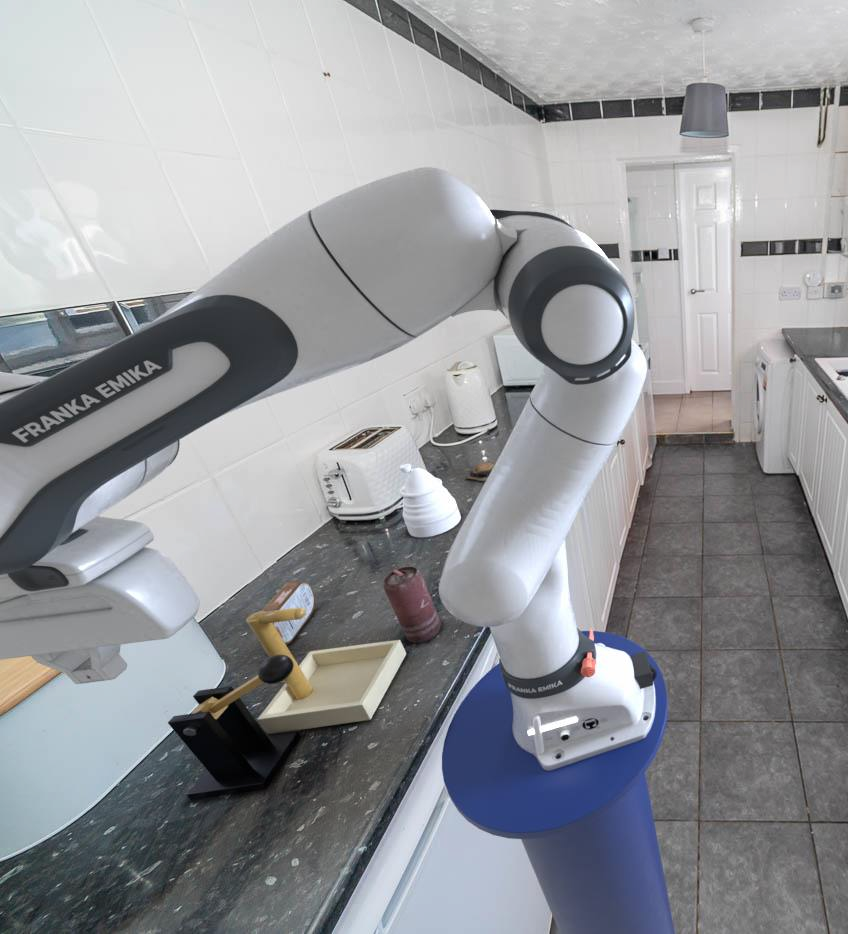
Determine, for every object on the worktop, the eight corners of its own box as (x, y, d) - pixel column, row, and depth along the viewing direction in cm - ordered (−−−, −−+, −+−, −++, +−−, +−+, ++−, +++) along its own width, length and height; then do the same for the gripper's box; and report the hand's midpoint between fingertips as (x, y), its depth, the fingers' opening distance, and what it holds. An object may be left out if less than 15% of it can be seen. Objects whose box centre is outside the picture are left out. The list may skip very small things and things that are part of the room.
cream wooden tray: (406, 653, 90) (400, 639, 88) (370, 719, 77) (362, 704, 76) (318, 665, 88) (309, 651, 87) (267, 734, 76) (256, 719, 75)
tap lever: (305, 659, 67) (282, 644, 65) (289, 681, 63) (264, 666, 62) (222, 712, 69) (198, 698, 67) (202, 735, 66) (176, 722, 64)
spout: (351, 684, 84) (306, 603, 76) (344, 696, 82) (297, 613, 74) (302, 691, 83) (252, 609, 75) (293, 703, 81) (240, 620, 73)
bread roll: (484, 483, 151) (481, 472, 150) (465, 479, 154) (462, 468, 153) (509, 468, 160) (506, 458, 158) (490, 464, 163) (487, 454, 161)
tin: (307, 604, 104) (290, 573, 100) (324, 601, 104) (307, 570, 101) (267, 658, 91) (245, 625, 87) (285, 655, 91) (265, 621, 87)
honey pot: (405, 542, 123) (380, 480, 115) (412, 518, 134) (389, 459, 126) (459, 529, 127) (439, 468, 119) (462, 507, 138) (443, 449, 130)
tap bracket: (301, 736, 76) (260, 674, 69) (266, 788, 68) (217, 724, 62) (233, 746, 75) (185, 684, 69) (190, 800, 68) (133, 736, 61)
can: (427, 617, 98) (404, 561, 92) (448, 625, 95) (426, 569, 89) (399, 638, 93) (372, 581, 87) (421, 648, 90) (395, 589, 84)
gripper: (-209, 600, 35) (-64, 723, 42) (96, 565, 37) (191, 689, 43) (-93, 549, 41) (19, 664, 47) (167, 521, 43) (242, 636, 49)
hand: (104, 676), depth 45 cm, fingers closed
